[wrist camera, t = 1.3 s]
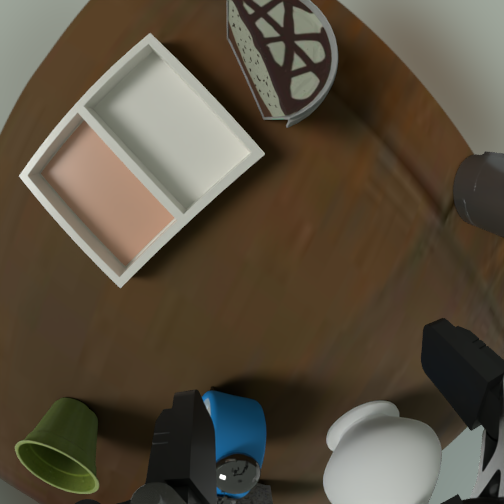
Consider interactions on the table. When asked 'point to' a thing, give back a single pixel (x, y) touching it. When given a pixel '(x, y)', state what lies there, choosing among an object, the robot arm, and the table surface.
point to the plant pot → (63, 447)
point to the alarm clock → (236, 443)
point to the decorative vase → (381, 457)
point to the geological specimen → (256, 495)
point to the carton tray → (137, 159)
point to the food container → (283, 55)
